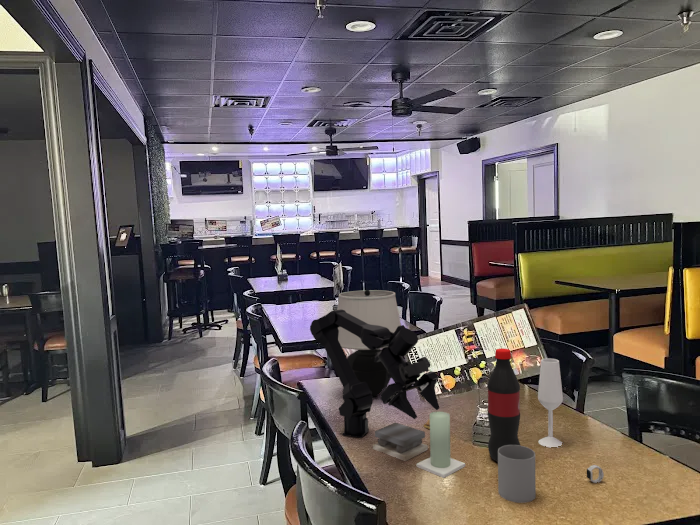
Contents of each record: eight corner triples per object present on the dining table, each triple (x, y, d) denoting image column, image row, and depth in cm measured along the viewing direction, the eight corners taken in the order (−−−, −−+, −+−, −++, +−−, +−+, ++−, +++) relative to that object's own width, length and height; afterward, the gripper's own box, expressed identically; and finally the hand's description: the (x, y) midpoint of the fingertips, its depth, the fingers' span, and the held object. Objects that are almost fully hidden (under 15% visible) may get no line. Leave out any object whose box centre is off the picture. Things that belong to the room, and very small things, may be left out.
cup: (493, 486, 130) (492, 446, 129) (526, 483, 130) (526, 443, 130) (506, 504, 121) (506, 461, 120) (541, 501, 122) (541, 458, 121)
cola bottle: (521, 454, 147) (520, 346, 145) (520, 467, 139) (519, 353, 137) (489, 450, 150) (487, 344, 148) (486, 463, 142) (485, 352, 140)
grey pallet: (372, 448, 153) (372, 431, 153) (395, 438, 160) (395, 421, 160) (405, 461, 145) (404, 442, 144) (427, 449, 152) (427, 431, 151)
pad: (416, 466, 141) (416, 463, 141) (438, 456, 147) (438, 453, 147) (443, 477, 134) (443, 474, 134) (465, 466, 140) (465, 463, 140)
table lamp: (319, 396, 203) (315, 291, 200) (370, 380, 221) (367, 284, 218) (369, 412, 183) (366, 296, 180) (420, 394, 201) (418, 288, 199)
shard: (445, 439, 160) (445, 433, 160) (420, 436, 162) (420, 431, 162) (449, 425, 170) (449, 420, 170) (425, 423, 173) (425, 418, 172)
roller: (430, 467, 139) (429, 418, 138) (430, 458, 144) (429, 411, 143) (450, 468, 138) (450, 418, 137) (450, 459, 143) (449, 411, 142)
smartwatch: (600, 479, 131) (600, 463, 131) (605, 483, 129) (605, 467, 129) (586, 480, 131) (585, 464, 131) (591, 484, 129) (590, 468, 129)
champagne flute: (566, 442, 154) (566, 359, 152) (557, 449, 149) (557, 364, 147) (544, 436, 158) (543, 356, 157) (534, 443, 153) (533, 361, 152)
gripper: (387, 355, 140) (420, 406, 132) (432, 343, 152) (465, 389, 145) (367, 378, 146) (397, 429, 139) (412, 365, 158) (442, 410, 151)
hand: (427, 413), depth 143 cm, fingers open, 9 cm apart
